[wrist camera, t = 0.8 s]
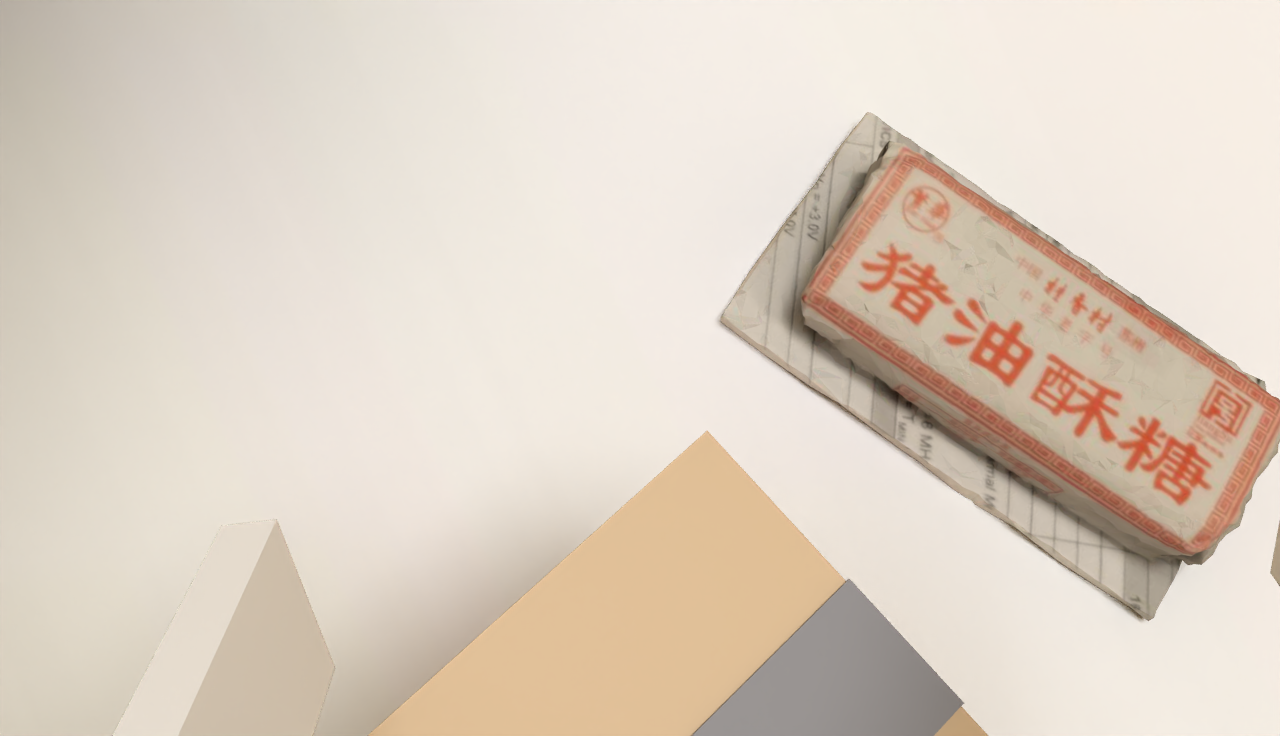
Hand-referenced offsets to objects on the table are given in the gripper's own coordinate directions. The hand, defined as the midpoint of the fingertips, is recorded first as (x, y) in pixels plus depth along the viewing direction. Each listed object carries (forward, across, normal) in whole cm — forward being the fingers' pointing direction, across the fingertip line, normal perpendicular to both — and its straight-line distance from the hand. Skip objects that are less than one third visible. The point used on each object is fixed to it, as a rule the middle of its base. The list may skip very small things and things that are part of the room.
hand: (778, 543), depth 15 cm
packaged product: (+24, +9, -13) cm, 29 cm away
